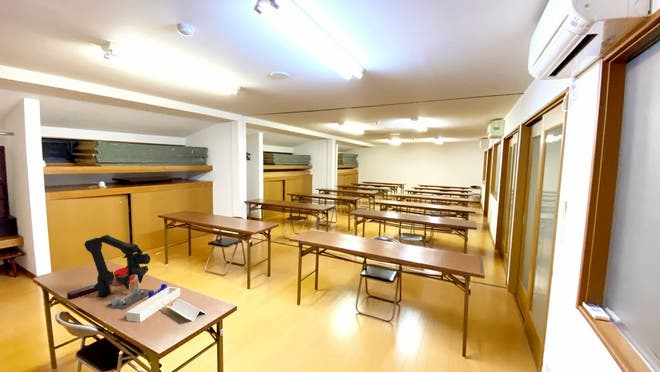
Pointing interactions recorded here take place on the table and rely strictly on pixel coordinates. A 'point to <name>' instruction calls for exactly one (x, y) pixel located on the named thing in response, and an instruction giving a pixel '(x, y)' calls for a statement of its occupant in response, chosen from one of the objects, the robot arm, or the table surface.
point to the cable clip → (157, 291)
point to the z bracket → (185, 309)
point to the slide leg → (134, 286)
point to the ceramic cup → (122, 272)
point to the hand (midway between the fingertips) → (134, 286)
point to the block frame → (152, 304)
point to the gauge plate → (128, 300)
